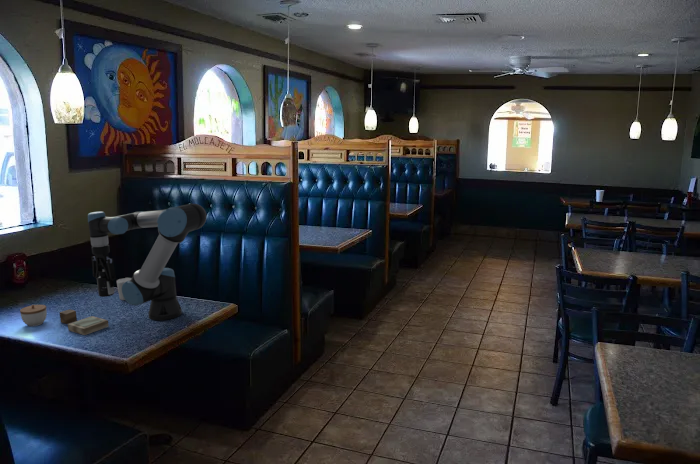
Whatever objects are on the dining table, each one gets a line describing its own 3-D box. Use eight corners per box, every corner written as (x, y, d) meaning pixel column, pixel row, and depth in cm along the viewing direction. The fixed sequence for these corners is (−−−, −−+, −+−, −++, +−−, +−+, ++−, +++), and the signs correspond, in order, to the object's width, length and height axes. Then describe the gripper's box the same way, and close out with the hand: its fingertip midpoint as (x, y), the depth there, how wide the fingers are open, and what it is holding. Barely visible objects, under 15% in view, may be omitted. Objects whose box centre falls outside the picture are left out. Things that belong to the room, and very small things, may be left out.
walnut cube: (77, 320, 264) (75, 310, 263) (67, 324, 260) (65, 314, 259) (70, 319, 267) (69, 309, 266) (60, 322, 263) (59, 312, 262)
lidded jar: (20, 323, 262) (17, 304, 260) (46, 318, 268) (43, 299, 266) (24, 330, 254) (21, 310, 252) (50, 324, 260) (47, 305, 258)
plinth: (108, 326, 255) (108, 319, 255) (84, 335, 245) (83, 328, 245) (92, 322, 262) (92, 315, 261) (68, 330, 252) (67, 323, 251)
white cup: (128, 300, 292) (126, 282, 290) (115, 300, 293) (113, 282, 291) (137, 296, 299) (135, 278, 297) (124, 295, 301) (122, 277, 299)
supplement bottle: (104, 297, 259) (101, 272, 257) (95, 296, 263) (92, 271, 261) (117, 293, 265) (114, 269, 263) (108, 292, 269) (105, 267, 266)
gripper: (120, 245, 257) (126, 293, 262) (94, 242, 268) (100, 288, 272) (106, 248, 251) (112, 297, 255) (80, 245, 261) (86, 292, 266)
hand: (106, 292), depth 264 cm, fingers closed on supplement bottle, 7 cm apart
